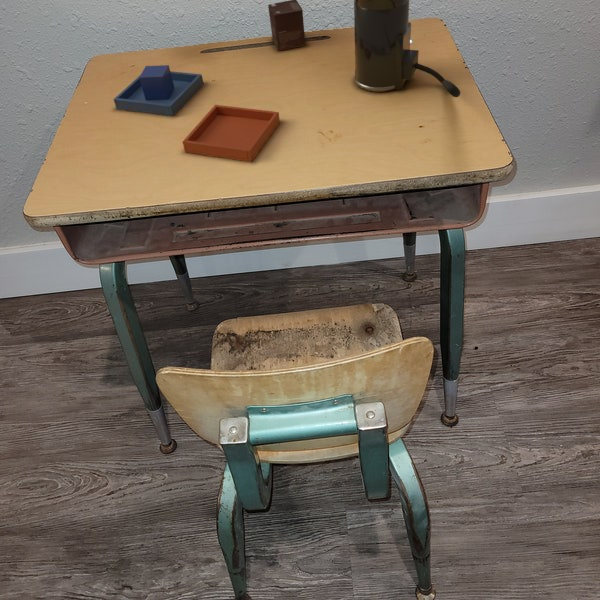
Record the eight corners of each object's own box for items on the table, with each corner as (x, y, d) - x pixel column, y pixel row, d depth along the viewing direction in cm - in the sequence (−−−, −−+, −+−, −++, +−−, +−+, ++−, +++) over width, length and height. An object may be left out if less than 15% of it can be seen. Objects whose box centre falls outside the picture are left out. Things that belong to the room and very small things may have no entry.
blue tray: (203, 84, 115) (201, 74, 113) (173, 116, 107) (170, 106, 106) (149, 78, 119) (147, 68, 117) (116, 109, 111) (113, 99, 110)
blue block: (174, 87, 114) (168, 64, 111) (168, 99, 111) (162, 76, 108) (152, 88, 114) (145, 65, 111) (145, 100, 111) (138, 77, 108)
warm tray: (280, 122, 103) (278, 112, 101) (251, 161, 95) (249, 151, 94) (217, 114, 106) (215, 104, 105) (185, 152, 99) (182, 141, 97)
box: (306, 46, 123) (303, 9, 117) (277, 51, 122) (273, 14, 117) (299, 34, 127) (296, -2, 121) (271, 39, 126) (267, 3, 121)
